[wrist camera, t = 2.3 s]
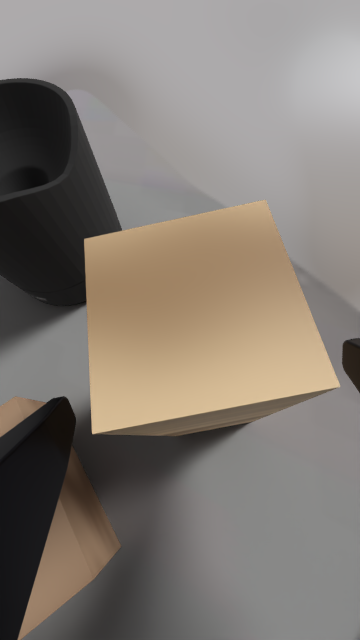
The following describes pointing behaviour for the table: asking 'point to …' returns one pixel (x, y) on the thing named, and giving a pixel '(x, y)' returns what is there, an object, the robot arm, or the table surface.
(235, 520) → the table surface
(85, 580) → the light brown block
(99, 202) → the pen holder
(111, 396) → the oak pillar
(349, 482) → the table surface
